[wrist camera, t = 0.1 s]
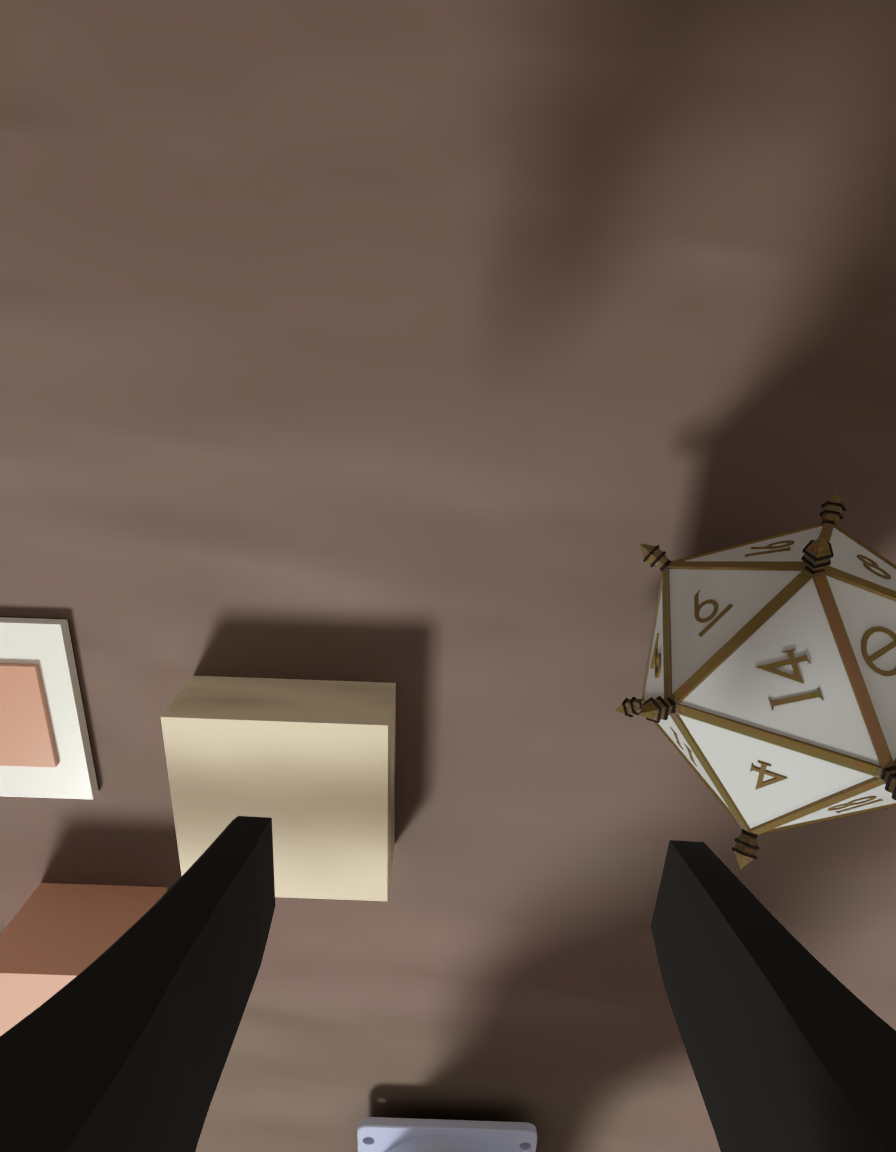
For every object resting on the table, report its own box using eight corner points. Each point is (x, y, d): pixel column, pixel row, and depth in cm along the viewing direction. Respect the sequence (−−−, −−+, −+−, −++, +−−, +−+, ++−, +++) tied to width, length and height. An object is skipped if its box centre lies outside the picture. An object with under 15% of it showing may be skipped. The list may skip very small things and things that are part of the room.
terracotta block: (179, 959, 27) (135, 1058, 24) (59, 955, 27) (-4, 1053, 24) (168, 884, 26) (119, 977, 22) (42, 880, 26) (-28, 972, 22)
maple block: (395, 838, 25) (387, 901, 22) (214, 832, 25) (183, 893, 22) (396, 678, 23) (388, 725, 20) (197, 670, 23) (160, 717, 20)
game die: (528, 614, 22) (583, 828, 12) (716, 407, 19) (963, 474, 10) (717, 757, 23) (892, 1038, 14) (911, 584, 21) (1275, 781, 12)
